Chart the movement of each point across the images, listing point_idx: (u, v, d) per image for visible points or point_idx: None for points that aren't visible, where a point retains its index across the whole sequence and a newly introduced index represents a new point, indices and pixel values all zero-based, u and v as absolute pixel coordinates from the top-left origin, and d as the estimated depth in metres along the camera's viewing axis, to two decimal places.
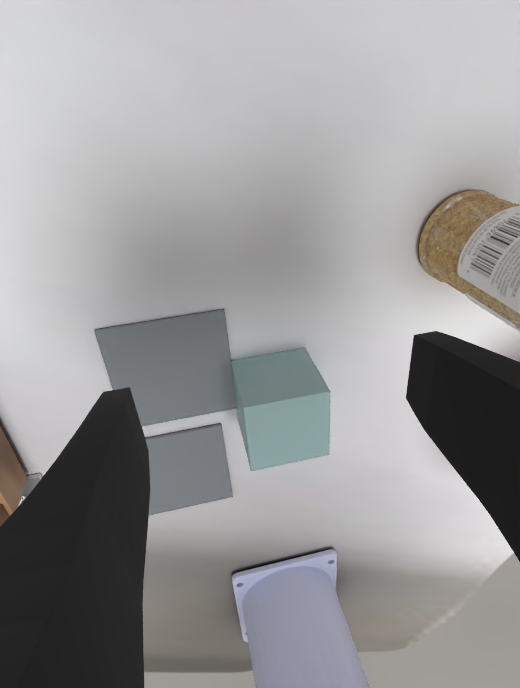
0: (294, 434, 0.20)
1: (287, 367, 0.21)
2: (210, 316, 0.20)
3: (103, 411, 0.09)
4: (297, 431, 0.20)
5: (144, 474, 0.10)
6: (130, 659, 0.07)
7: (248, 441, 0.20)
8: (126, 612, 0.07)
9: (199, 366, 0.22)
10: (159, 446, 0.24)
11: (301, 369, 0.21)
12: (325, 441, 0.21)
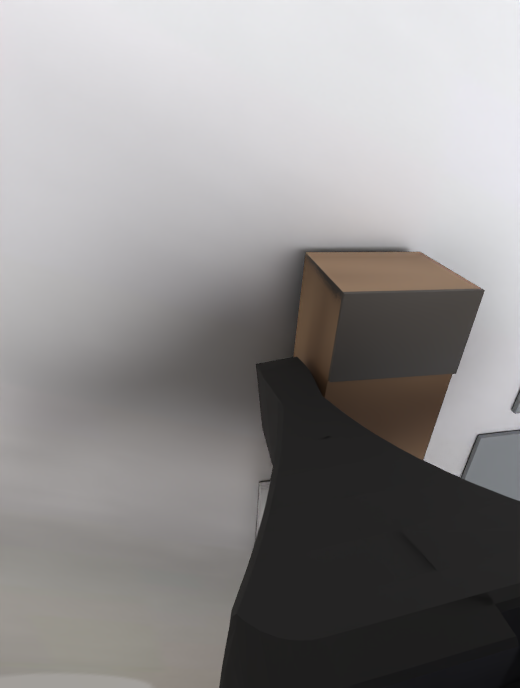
0: None
1: None
2: None
3: (292, 375, 0.09)
4: None
5: None
6: None
7: None
8: None
9: None
10: None
11: None
12: None
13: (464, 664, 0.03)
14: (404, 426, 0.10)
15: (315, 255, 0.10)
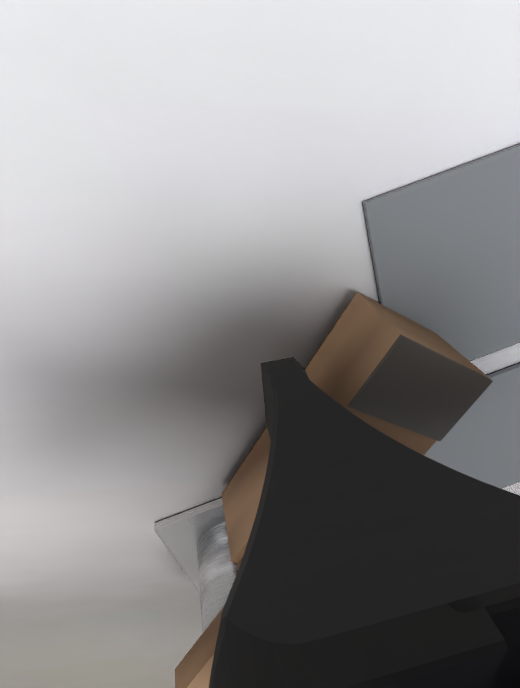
0: None
1: None
2: None
3: (288, 376, 0.09)
4: None
5: None
6: None
7: None
8: None
9: None
10: None
11: None
12: None
13: (478, 660, 0.03)
14: None
15: (365, 298, 0.11)
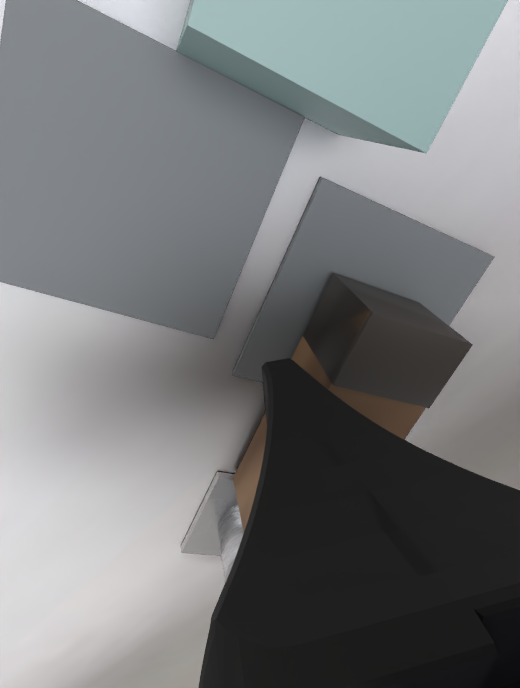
0: None
1: None
2: (16, 16, 0.08)
3: (284, 377, 0.09)
4: None
5: None
6: None
7: (324, 94, 0.06)
8: None
9: (149, 130, 0.09)
10: (284, 310, 0.12)
11: None
12: None
13: (490, 655, 0.03)
14: None
15: (341, 277, 0.11)
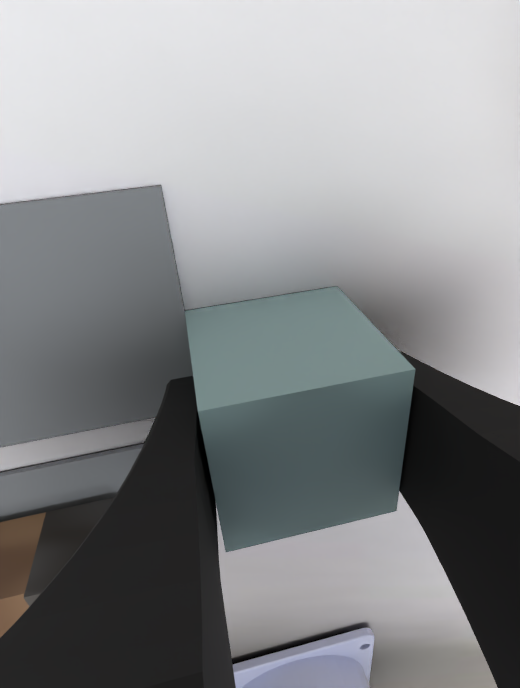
0: (323, 471, 0.09)
1: (305, 321, 0.10)
2: (129, 200, 0.09)
3: (178, 397, 0.09)
4: (332, 464, 0.09)
5: None
6: (225, 633, 0.07)
7: (216, 491, 0.08)
8: (218, 589, 0.07)
9: (118, 321, 0.10)
10: (53, 482, 0.12)
11: (336, 325, 0.09)
12: (391, 485, 0.09)
13: None
14: None
15: None
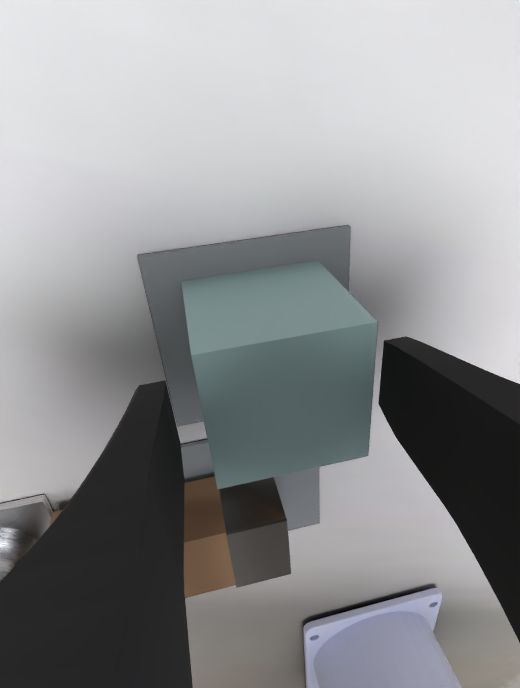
0: (301, 414, 0.10)
1: (287, 288, 0.11)
2: (327, 236, 0.12)
3: (143, 403, 0.09)
4: (308, 408, 0.10)
5: (179, 467, 0.10)
6: (181, 645, 0.07)
7: (207, 430, 0.10)
8: (175, 600, 0.07)
9: None
10: None
11: (314, 290, 0.11)
12: (362, 430, 0.11)
13: None
14: (189, 582, 0.15)
15: None
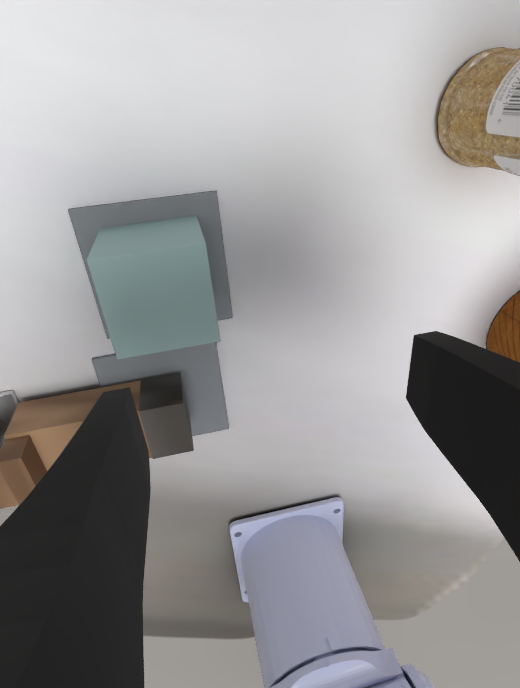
0: (166, 306, 0.16)
1: (165, 229, 0.17)
2: (201, 198, 0.18)
3: (103, 411, 0.09)
4: (170, 302, 0.16)
5: (144, 474, 0.10)
6: (130, 659, 0.07)
7: (104, 313, 0.15)
8: (126, 612, 0.07)
9: None
10: (145, 361, 0.21)
11: (181, 229, 0.16)
12: (212, 321, 0.16)
13: None
14: None
15: (181, 378, 0.21)
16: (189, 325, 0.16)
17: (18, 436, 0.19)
